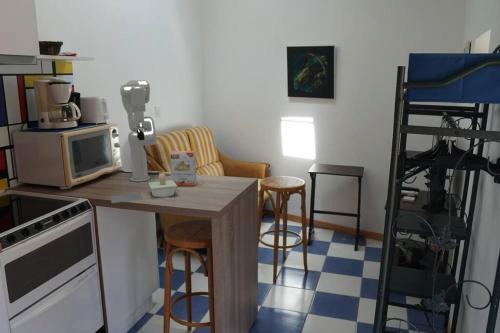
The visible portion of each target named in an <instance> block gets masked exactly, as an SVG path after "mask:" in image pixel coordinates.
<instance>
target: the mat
mask: <svg viewBox="0 0 500 333" xmlns="http://www.w3.org/2000/svg"><path fill="white" fill-rule="evenodd" d="M110 200H111V201H110V202H111V204H115V203H125V202H133V201H143V197H142V193H141V192H139V193H138V192H136V193H127V194H119V195H110Z"/></svg>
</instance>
